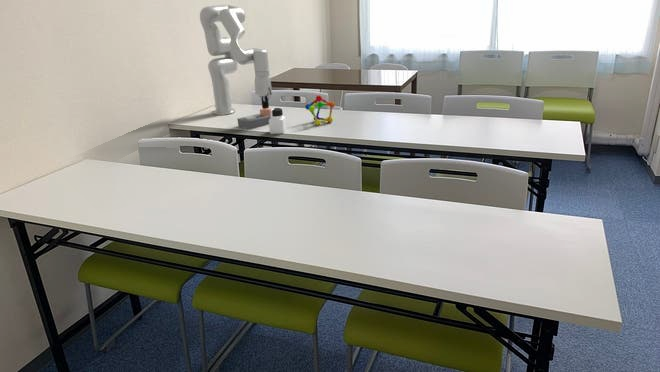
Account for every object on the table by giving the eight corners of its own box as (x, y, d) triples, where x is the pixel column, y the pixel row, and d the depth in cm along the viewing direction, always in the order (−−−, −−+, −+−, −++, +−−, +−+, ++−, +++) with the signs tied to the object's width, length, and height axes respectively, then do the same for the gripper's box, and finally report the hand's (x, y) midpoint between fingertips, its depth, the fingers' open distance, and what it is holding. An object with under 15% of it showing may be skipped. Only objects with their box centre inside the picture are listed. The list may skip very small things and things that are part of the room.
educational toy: (319, 119, 270) (320, 92, 265) (336, 123, 261) (337, 95, 256) (298, 123, 259) (298, 94, 254) (315, 127, 251) (315, 98, 246)
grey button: (245, 124, 261) (244, 117, 259) (252, 123, 263) (251, 115, 262) (249, 126, 257) (248, 118, 256) (256, 124, 260) (256, 117, 259)
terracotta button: (260, 116, 266) (259, 109, 264) (267, 115, 268) (266, 107, 267) (265, 118, 262) (264, 110, 261) (271, 116, 265) (271, 109, 263)
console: (238, 125, 261) (237, 118, 260) (269, 118, 273) (268, 111, 271) (248, 129, 254) (247, 121, 253) (279, 121, 266) (278, 114, 264)
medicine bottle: (286, 129, 250) (284, 106, 246) (283, 133, 244) (281, 110, 239) (272, 129, 251) (270, 107, 246) (269, 133, 244) (267, 110, 240)
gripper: (248, 73, 260) (252, 107, 267) (264, 76, 249) (267, 111, 256) (260, 71, 264) (263, 104, 271) (276, 74, 253) (279, 108, 260)
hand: (265, 108), depth 263 cm, fingers closed
